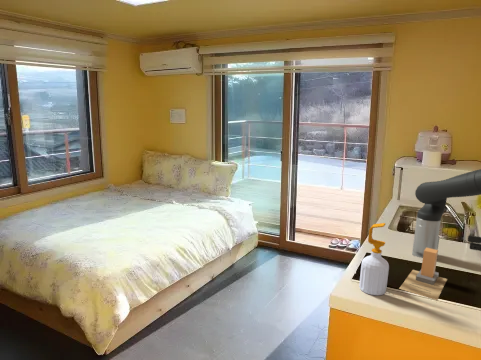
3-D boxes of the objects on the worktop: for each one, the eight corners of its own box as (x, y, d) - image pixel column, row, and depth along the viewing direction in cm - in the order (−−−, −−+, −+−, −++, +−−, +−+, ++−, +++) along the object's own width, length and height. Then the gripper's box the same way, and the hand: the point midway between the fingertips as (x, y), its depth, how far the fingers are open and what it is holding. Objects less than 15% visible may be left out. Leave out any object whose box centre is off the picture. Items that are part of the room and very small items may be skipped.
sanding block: (421, 271, 142) (424, 244, 140) (438, 276, 139) (442, 248, 137) (415, 280, 135) (419, 251, 133) (433, 285, 132) (437, 256, 130)
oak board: (412, 273, 144) (412, 269, 144) (446, 282, 137) (447, 278, 137) (398, 292, 129) (399, 288, 129) (436, 304, 122) (437, 300, 121)
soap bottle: (383, 298, 124) (391, 229, 119) (356, 291, 129) (362, 224, 124) (388, 288, 132) (396, 222, 127) (362, 281, 136) (369, 217, 132)
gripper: (523, 234, 127) (468, 226, 134) (533, 247, 114) (472, 237, 122) (519, 254, 128) (465, 245, 136) (528, 269, 116) (468, 258, 123)
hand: (468, 241), depth 129 cm, fingers open, 8 cm apart
